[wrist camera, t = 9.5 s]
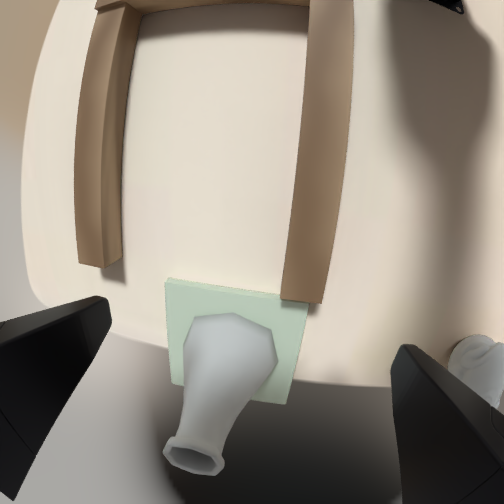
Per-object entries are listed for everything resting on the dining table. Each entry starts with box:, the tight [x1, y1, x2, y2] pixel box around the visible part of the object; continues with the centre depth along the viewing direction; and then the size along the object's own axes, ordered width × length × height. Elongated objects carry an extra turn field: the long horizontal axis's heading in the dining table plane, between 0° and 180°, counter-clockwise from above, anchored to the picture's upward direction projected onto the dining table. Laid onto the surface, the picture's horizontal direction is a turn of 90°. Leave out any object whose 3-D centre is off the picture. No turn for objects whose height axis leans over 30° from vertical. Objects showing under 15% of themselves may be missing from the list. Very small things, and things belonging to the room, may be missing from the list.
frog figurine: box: [447, 335, 504, 409], centre depth 16 cm, size 6×7×7 cm
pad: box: [165, 278, 309, 405], centre depth 21 cm, size 10×10×1 cm
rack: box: [74, 0, 354, 304], centre depth 15 cm, size 17×21×3 cm
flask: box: [163, 312, 278, 476], centre depth 16 cm, size 7×7×10 cm
